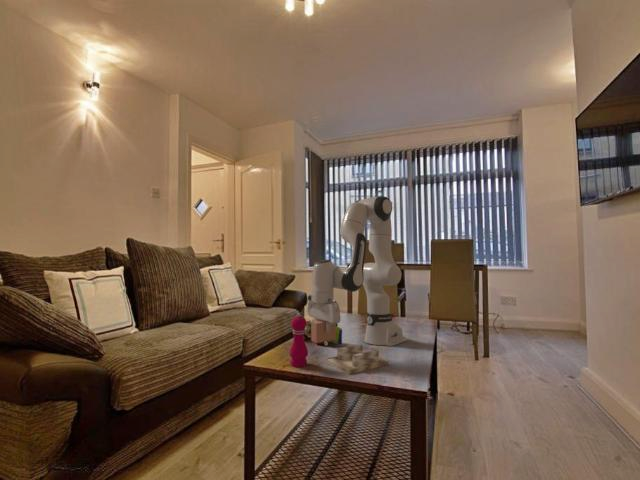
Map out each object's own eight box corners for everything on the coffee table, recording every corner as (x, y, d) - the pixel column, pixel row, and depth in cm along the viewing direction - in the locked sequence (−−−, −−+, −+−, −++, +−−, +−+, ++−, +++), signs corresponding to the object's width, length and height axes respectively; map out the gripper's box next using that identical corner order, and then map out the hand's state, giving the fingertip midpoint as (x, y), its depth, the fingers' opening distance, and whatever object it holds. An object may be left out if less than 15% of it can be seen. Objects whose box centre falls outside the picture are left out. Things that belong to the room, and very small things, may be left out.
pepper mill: (305, 368, 124) (305, 314, 125) (287, 366, 125) (287, 314, 126) (309, 362, 131) (310, 311, 132) (292, 360, 132) (292, 311, 133)
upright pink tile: (330, 337, 144) (330, 318, 144) (336, 339, 141) (335, 320, 141) (311, 340, 139) (311, 321, 139) (316, 343, 135) (316, 323, 135)
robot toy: (336, 350, 150) (299, 340, 159) (344, 345, 158) (309, 336, 167) (340, 313, 150) (302, 306, 159) (348, 310, 158) (312, 303, 167)
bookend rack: (365, 355, 140) (365, 342, 140) (388, 364, 129) (388, 350, 129) (326, 363, 129) (326, 349, 130) (348, 374, 118) (348, 358, 118)
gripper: (343, 300, 133) (344, 334, 133) (316, 294, 150) (317, 324, 150) (331, 301, 130) (331, 336, 129) (305, 295, 147) (305, 326, 146)
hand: (323, 330), depth 140 cm, fingers closed on upright pink tile, 4 cm apart
